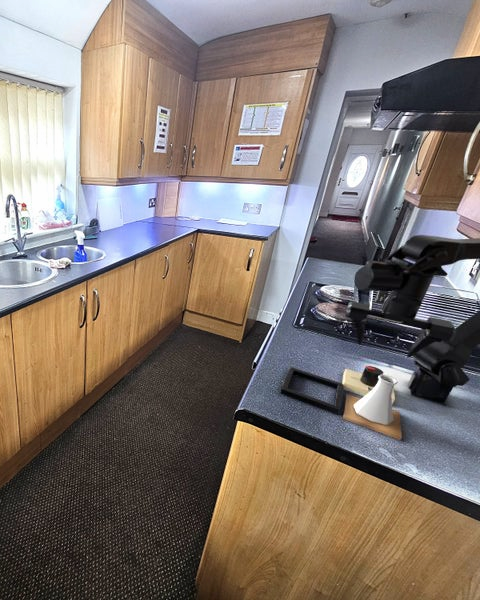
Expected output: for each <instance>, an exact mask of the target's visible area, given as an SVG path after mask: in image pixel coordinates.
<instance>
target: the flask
mask: <svg viewBox="0 0 480 600" xmlns="http://www.w3.org/2000/svg"><path fill="white" fill-rule="evenodd" d="M378 378H379V381H378V383H377V385H376V386H375V387H374V388H373V390H371V391H370V392H369V393H368V394H367V395H365V396H362V398H360V400H359V401H358V402H357V403H355V404H354V405H353V406H354V408H355V410H356V413H357V414H359V415H361V416H363V417H365V418H367V419H368V420H370V421H373V422H377V423H381V424H385V425H388V424H389V423H391V422H392V421H393V411H392V409H393V404H392V397H391V396H392V390H393V387H394V388H395V386H396V385H397V384H398V383H399V382H398V380H397V378H395V377H393V376H390V375H388V374H384V373H383V374H381V375H379V376H378Z"/></svg>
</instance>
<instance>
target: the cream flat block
mask: <svg viewBox="0 0 480 600" xmlns="http://www.w3.org/2000/svg"><path fill="white" fill-rule="evenodd" d="M362 374H363V372H362V373H361V372H358V371H356V370H351V369H350V368H349V369H348V368H345V369H344V371H343V374H342V382H341V383H342V384H343V386H344V389H343V391H347V392H350V393H353V394H356V395H359V396H362V397H364V396H365V395H367V394H368V393H369V392H370V391H371V390H373V388H374V387H371V386H367V385H365V384H363V383H362V382H361V381H360V379H361V376H362ZM395 394H396V393H395V386H394V387H393V390H392V396H391V397H392V405H393V404H394V402H395V401H396V396H395Z"/></svg>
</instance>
